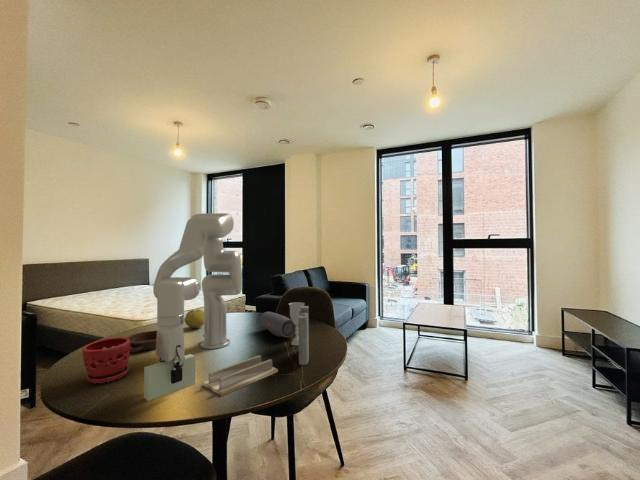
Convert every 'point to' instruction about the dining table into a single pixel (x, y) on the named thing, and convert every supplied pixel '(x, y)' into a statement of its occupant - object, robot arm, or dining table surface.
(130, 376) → the dining table surface
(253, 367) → the track
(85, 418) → the dining table surface
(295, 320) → the chalice
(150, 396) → the door panel
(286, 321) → the bluetooth speaker
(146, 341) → the dish
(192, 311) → the fruit
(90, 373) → the plant pot
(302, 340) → the hip flask
